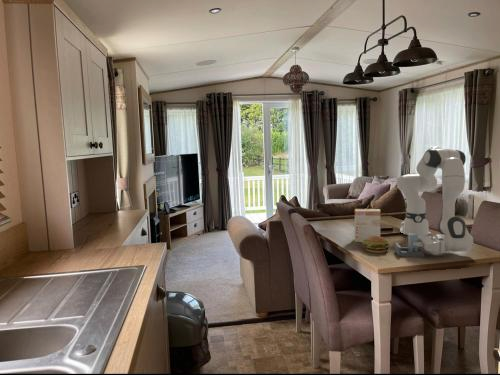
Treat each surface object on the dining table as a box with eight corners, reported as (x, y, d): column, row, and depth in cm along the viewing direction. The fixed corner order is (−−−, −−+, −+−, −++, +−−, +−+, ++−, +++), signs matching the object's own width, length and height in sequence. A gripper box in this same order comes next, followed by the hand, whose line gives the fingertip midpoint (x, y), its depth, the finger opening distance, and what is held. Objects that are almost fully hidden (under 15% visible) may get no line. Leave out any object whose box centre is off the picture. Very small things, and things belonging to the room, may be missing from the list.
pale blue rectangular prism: (407, 251, 210) (408, 233, 209) (415, 251, 210) (416, 233, 209) (409, 253, 206) (410, 234, 205) (417, 253, 206) (418, 235, 205)
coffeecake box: (379, 240, 239) (380, 208, 237) (380, 243, 233) (380, 211, 230) (354, 239, 243) (354, 208, 241) (354, 242, 237) (354, 210, 234)
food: (358, 247, 224) (358, 234, 223) (382, 246, 225) (382, 233, 224) (368, 254, 210) (368, 240, 209) (393, 253, 211) (393, 239, 211)
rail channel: (395, 251, 214) (395, 242, 214) (419, 252, 212) (419, 243, 212) (398, 256, 205) (398, 247, 204) (423, 257, 203) (424, 247, 202)
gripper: (433, 232, 215) (406, 232, 217) (445, 241, 195) (416, 241, 197) (432, 243, 216) (406, 243, 218) (444, 253, 196) (415, 253, 198)
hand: (411, 242), depth 208 cm, fingers closed on pale blue rectangular prism, 4 cm apart
